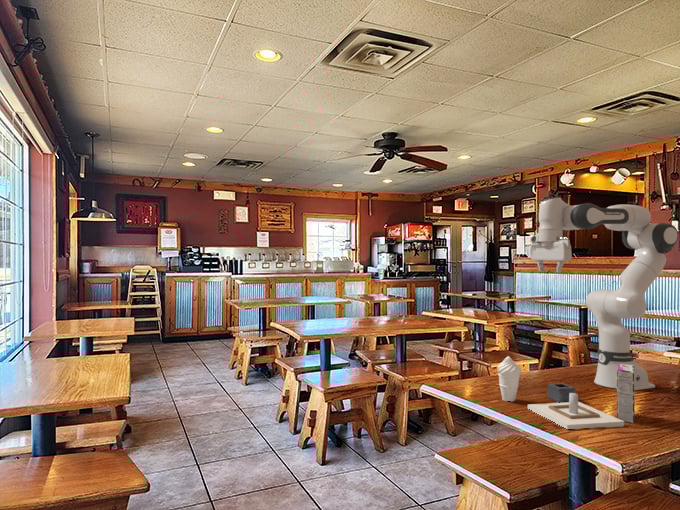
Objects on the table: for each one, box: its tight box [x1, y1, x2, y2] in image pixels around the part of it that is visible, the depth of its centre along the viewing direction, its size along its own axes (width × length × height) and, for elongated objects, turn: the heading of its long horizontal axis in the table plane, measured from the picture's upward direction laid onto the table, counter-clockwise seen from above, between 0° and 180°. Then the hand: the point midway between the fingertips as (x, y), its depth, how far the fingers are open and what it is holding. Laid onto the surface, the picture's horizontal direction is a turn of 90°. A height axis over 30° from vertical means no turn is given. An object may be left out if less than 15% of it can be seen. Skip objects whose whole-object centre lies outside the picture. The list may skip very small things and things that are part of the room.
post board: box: [527, 392, 625, 430], centre depth 153 cm, size 20×20×8 cm
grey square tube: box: [546, 382, 576, 403], centre depth 172 cm, size 7×7×5 cm
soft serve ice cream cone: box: [496, 355, 522, 403], centre depth 170 cm, size 8×8×16 cm
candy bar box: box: [616, 364, 636, 424], centre depth 153 cm, size 11×5×16 cm, turn 148°
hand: (549, 272), depth 188 cm, fingers open, 8 cm apart
